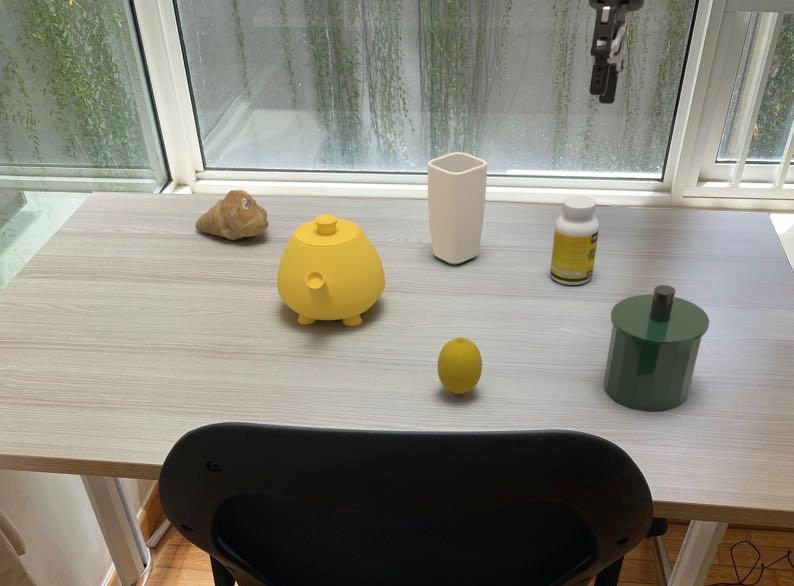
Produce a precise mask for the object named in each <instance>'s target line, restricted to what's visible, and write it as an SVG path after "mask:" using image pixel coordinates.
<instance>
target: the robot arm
mask: <svg viewBox="0 0 794 586" xmlns="http://www.w3.org/2000/svg"><path fill="white" fill-rule="evenodd" d="M644 4H645V0H588V5H589V7H590V8H592V9H594V10H595V13H596V16H595V22H594V27H593V28H594V29H593V35H592V42H591V47H590V51H589V53H590V56H591V64H592V71H591V76H590V83H589V90H588V91H589V94H590V95H591V96H597V97H598V102H599V104H602V105H612V104H614V103H615V100H616V94H617V87H618V81H619V76H620V75H621V73H623V71H624V67H625V66H624V64H625V58H626V57H625V55H626V49H627V41H628V36H629V33H630V28H629V24H627V21H626V15H627V14H628V13H629V12H632V13H633V12H636V11H637V12H638V11H639V10H641V9H642V8H643V7H644ZM612 61H615V62H612Z"/></svg>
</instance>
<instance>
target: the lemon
mask: <svg viewBox="0 0 794 586" xmlns="http://www.w3.org/2000/svg"><path fill="white" fill-rule="evenodd" d="M482 360H483V359H482V355H481V352H480V350H479V348H478V346H477V345H476V344H475V343H474V342H473V341H472V340H470V339H468V338H464V337H463V336H460V337H457V338H452V339H451V340H449V341H447V342H446V343H445V344H444V345H443V346H442V348H441V350H440V352H439V355H438V359H437V375H438V379H439V381H440V383H441V384H442V386H443V387H444V388H445V389H446V390H447V391H449V392H451V393H454V394H457V395H462V394H464V393H468V392H470V391H472V390H473V389H474V388H475V387H476V386H477V385H478V383H479V381H480V379H481V376H482V372H483V361H482Z"/></svg>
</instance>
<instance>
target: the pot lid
mask: <svg viewBox="0 0 794 586" xmlns="http://www.w3.org/2000/svg"><path fill="white" fill-rule="evenodd" d="M676 292H677V290H676V288H675V287H673V286H670V285H667V284H662V285H661V284H660V285H657V286H655V287H654V289H653V294H652V293H651V294H649V293H648V294H639V295H634V296H633V295H632V296H630V297H626V298H625V299H622V300H620V301H619V302H617V303H616V304H614V306H613V308H612V309H611V312H610V322H611V324H612V327H613V326H614V327H615V328H616V329H617V330H618V331H619V332H621V333H622V334H624V335H626V336H627V337H630V338H632V339H635V340H637V341H641V342H645V343H650V344H657V345H678V344H684V343H689V342H692V341H694V340H697V339H699V338H700V337H702V338H703V336H704V335H705V334H706V333H707V332H708V329H709V327H710V318H709V315H708V313H706V311H705V310H704V309H702V308H701V307H700V306H699V305H697V304H695V303H693V302H692V301H689V300H687V299H684V298H681V297H677V296H675V295H676Z"/></svg>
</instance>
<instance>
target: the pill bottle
mask: <svg viewBox="0 0 794 586" xmlns="http://www.w3.org/2000/svg"><path fill="white" fill-rule="evenodd" d="M596 206H597V201H596V200H595V199H594V198H593V197H591V196H587V195H570V196H568V197H564V199H563V202H562V208H561V210H562V213H563V214H561V215H560V216H558V217H557V218H556V220H555V222H554V228H553V240H552V251H551V259H550V260H551V261H550V269H549V274H550V277H551V279H553V280H554V281H555V282H557V283H559V284H562V285H566V286H567V285H568V286H578V285H582V284H586V283H588V282H589V281H590V280H591V279H592V278H593V274H594V267H595V261H596V254H597V245H598V243H597V242H598V238H599V231H600V222H599V220H598V219H597V218H596V216H595V215H594V214H595V213H596V212H595V211H596V208H597V207H596Z"/></svg>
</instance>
